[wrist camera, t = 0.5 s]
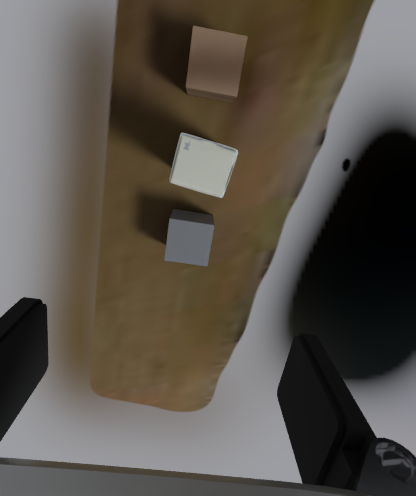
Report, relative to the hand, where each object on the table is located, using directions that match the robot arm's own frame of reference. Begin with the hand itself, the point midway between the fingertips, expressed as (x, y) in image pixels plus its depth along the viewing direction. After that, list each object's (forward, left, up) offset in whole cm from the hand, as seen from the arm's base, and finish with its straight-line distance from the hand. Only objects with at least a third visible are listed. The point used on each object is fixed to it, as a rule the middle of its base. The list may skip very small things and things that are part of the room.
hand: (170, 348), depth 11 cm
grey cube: (+3, 0, -28) cm, 28 cm away
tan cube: (-15, 0, -28) cm, 31 cm away
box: (-6, 0, -28) cm, 28 cm away
